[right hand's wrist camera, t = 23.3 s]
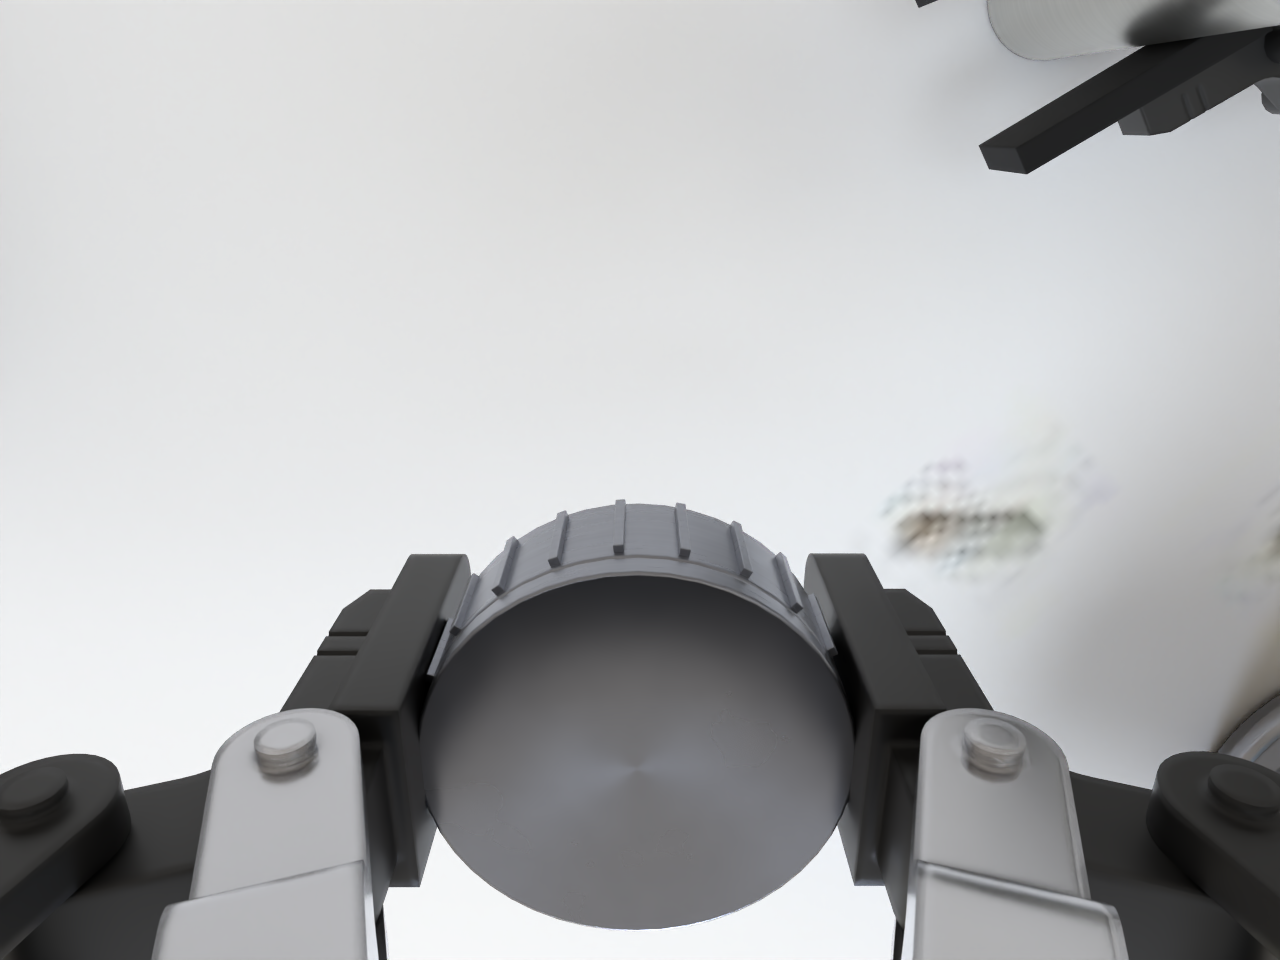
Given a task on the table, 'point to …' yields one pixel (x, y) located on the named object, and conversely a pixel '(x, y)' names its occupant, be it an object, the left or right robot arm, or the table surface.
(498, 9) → the table surface
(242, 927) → the right robot arm
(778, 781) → the lid
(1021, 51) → the jar
